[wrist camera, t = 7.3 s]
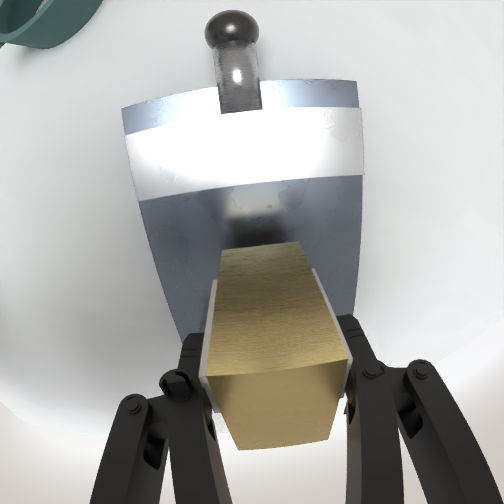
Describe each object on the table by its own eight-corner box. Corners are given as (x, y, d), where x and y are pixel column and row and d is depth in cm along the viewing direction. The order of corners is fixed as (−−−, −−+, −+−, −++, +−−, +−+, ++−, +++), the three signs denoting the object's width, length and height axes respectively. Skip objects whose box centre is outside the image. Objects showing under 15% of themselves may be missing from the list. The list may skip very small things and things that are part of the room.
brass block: (238, 334, 17) (238, 450, 10) (222, 250, 14) (205, 375, 7) (300, 327, 17) (327, 439, 9) (298, 241, 14) (348, 358, 7)
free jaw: (164, 180, 15) (137, 201, 11) (145, 44, 11) (114, 21, 7) (332, 160, 15) (364, 174, 11) (317, 24, 11) (342, -5, 7)
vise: (194, 350, 24) (186, 407, 18) (133, 109, 15) (82, 106, 9) (341, 333, 24) (362, 386, 18) (344, 84, 15) (394, 70, 9)
